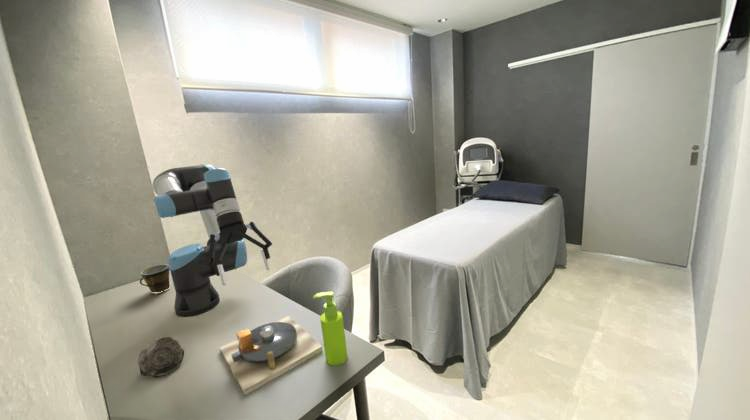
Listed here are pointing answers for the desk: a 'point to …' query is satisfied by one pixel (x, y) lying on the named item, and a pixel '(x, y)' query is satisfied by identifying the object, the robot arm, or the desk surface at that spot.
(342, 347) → the soap dispenser
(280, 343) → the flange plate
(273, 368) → the post base
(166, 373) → the fossil
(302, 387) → the desk surface
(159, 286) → the ceramic cup
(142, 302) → the desk surface
